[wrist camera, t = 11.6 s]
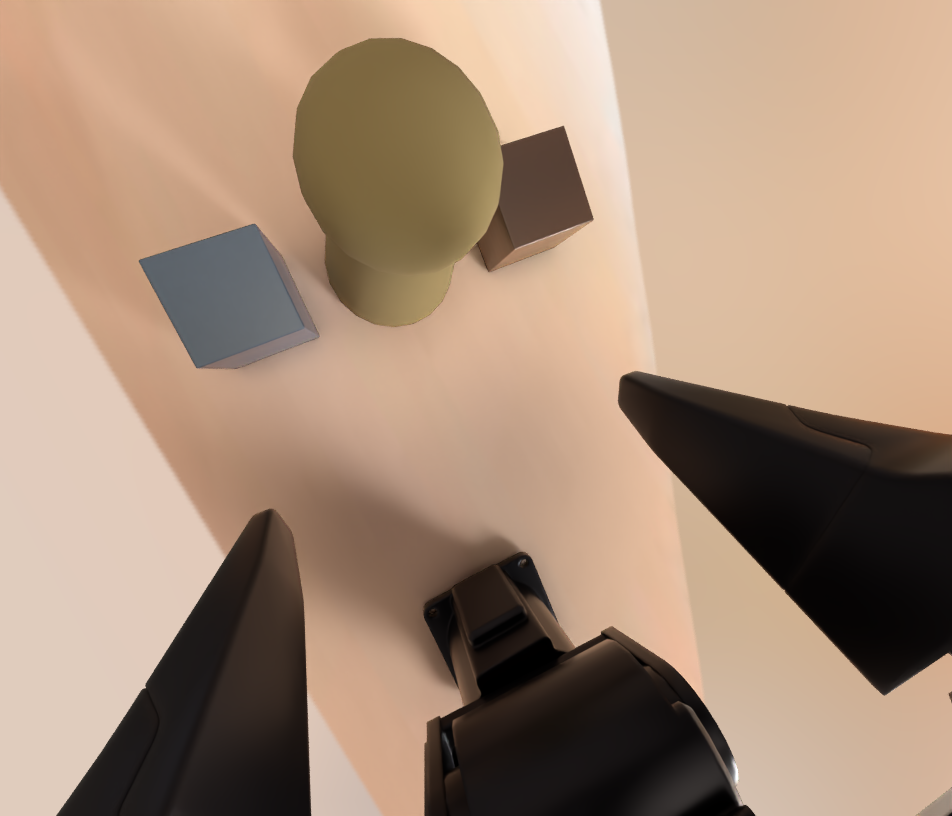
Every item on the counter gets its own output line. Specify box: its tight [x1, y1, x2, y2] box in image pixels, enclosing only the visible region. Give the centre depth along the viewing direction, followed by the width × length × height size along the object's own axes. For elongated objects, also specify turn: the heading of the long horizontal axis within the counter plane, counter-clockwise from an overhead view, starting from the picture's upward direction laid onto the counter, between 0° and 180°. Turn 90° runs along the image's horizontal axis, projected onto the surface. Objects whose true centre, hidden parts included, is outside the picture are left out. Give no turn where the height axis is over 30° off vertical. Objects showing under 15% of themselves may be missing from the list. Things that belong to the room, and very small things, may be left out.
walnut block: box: [477, 126, 594, 272], centre depth 18 cm, size 4×4×4 cm
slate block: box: [139, 224, 319, 369], centre depth 16 cm, size 4×4×4 cm
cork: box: [293, 38, 503, 327], centre depth 14 cm, size 6×6×11 cm
